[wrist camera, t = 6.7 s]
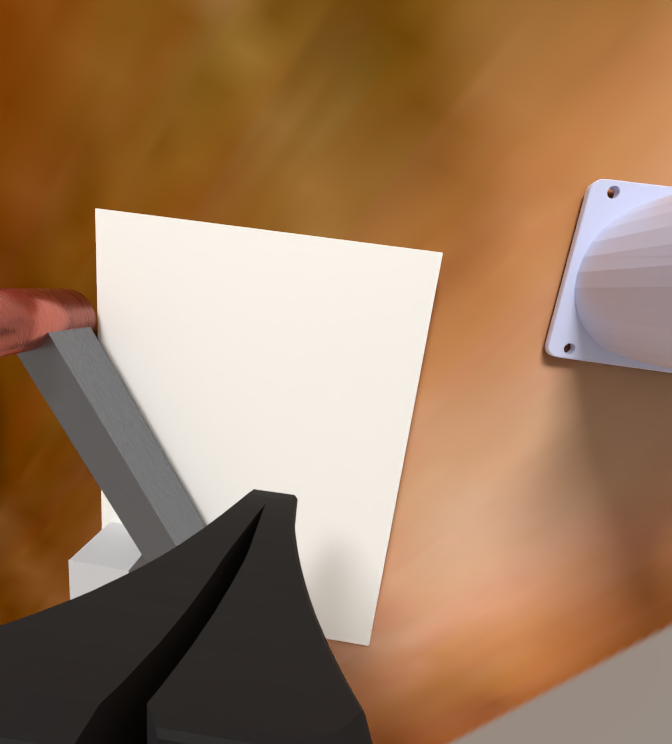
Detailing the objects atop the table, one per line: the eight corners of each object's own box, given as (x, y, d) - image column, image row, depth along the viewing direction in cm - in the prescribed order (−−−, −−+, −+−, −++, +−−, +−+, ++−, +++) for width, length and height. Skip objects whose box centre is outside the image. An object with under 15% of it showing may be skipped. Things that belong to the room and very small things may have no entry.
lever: (276, 614, 21) (250, 715, 16) (222, 632, 21) (180, 734, 16) (85, 275, 17) (-26, 268, 12) (25, 306, 18) (-103, 312, 13)
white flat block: (436, 255, 17) (460, 244, 13) (368, 622, 22) (370, 703, 18) (116, 214, 18) (38, 190, 14) (119, 580, 23) (63, 648, 19)
